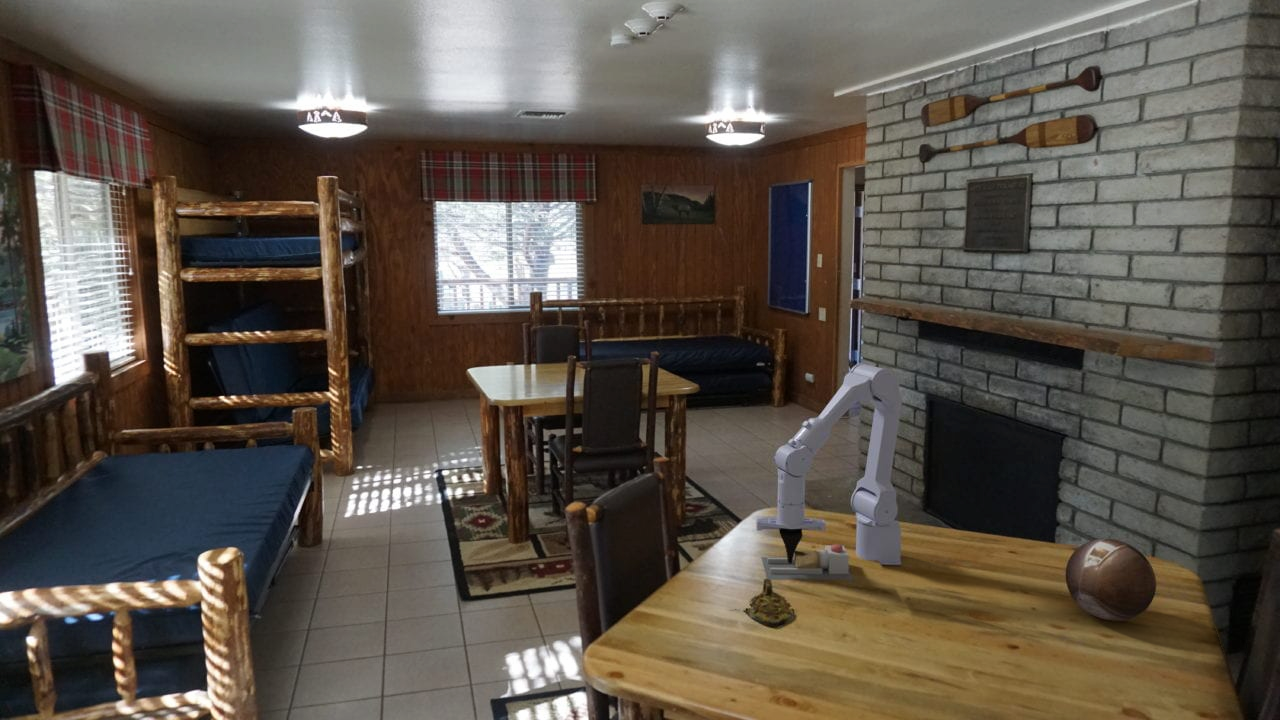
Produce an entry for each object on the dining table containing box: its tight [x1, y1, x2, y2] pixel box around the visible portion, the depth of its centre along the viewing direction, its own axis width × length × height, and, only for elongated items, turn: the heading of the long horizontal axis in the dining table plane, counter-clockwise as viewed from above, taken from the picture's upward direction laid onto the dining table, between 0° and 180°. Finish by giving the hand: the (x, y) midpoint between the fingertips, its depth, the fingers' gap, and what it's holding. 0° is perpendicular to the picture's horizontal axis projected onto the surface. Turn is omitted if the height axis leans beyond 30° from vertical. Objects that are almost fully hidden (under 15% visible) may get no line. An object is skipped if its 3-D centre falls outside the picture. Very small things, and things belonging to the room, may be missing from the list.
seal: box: [745, 578, 795, 628], centre depth 166 cm, size 9×5×15 cm
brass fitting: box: [793, 550, 820, 568], centre depth 183 cm, size 5×4×4 cm
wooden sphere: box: [1065, 538, 1157, 622], centre depth 161 cm, size 15×15×15 cm
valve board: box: [761, 543, 854, 581], centre depth 183 cm, size 18×12×6 cm, turn 87°
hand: (789, 561), depth 184 cm, fingers closed
